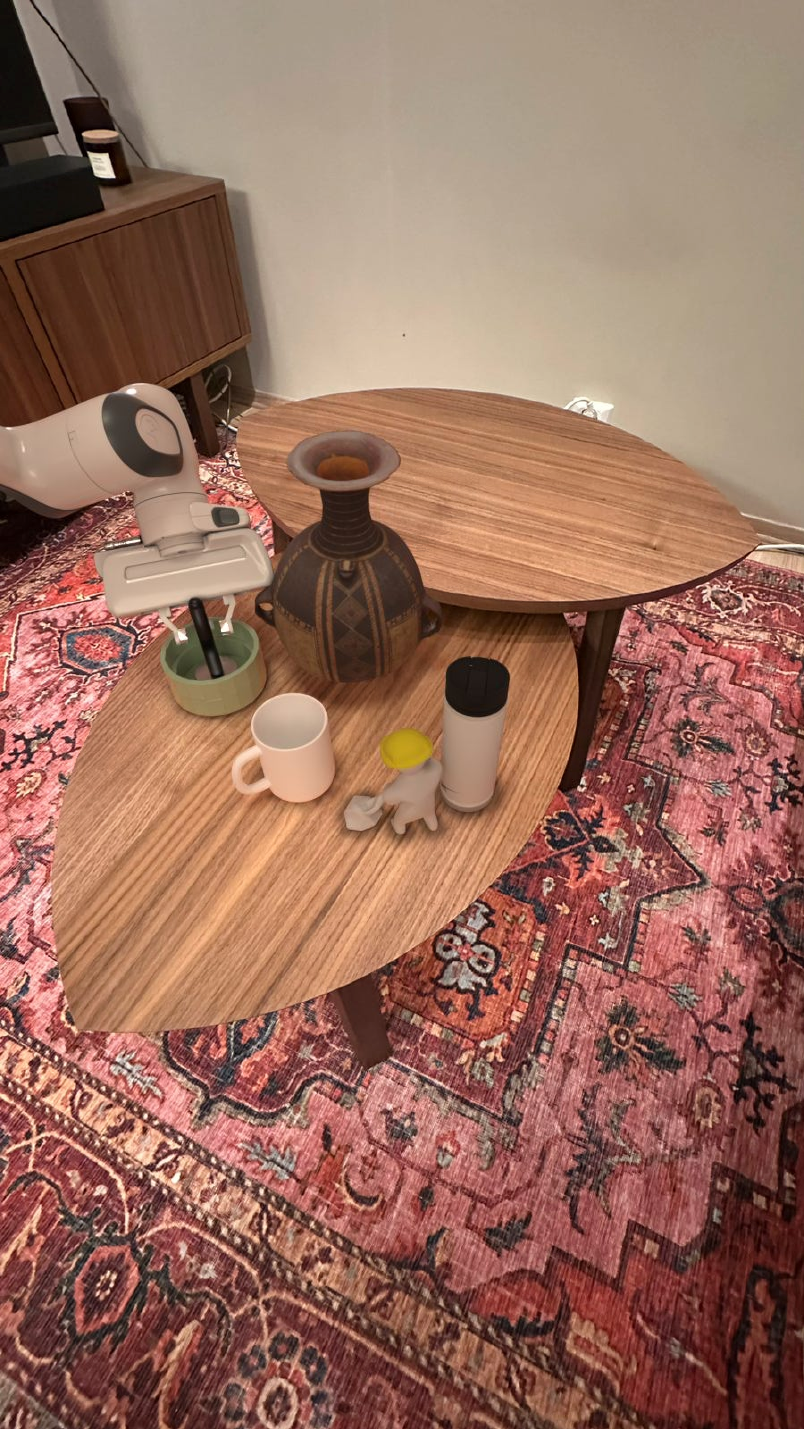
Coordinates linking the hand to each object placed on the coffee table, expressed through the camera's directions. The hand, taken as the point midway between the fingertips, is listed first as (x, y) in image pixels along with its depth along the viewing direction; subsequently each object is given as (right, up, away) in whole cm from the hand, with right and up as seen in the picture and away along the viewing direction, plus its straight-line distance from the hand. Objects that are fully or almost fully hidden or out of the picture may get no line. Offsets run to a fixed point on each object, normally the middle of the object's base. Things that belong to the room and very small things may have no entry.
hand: (206, 639), depth 85 cm
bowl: (0, -5, +7) cm, 9 cm away
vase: (+18, -2, +10) cm, 21 cm away
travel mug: (+32, -18, -5) cm, 37 cm away
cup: (+11, -18, -4) cm, 21 cm away
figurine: (+23, -21, -7) cm, 32 cm away
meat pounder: (0, -5, +7) cm, 8 cm away
